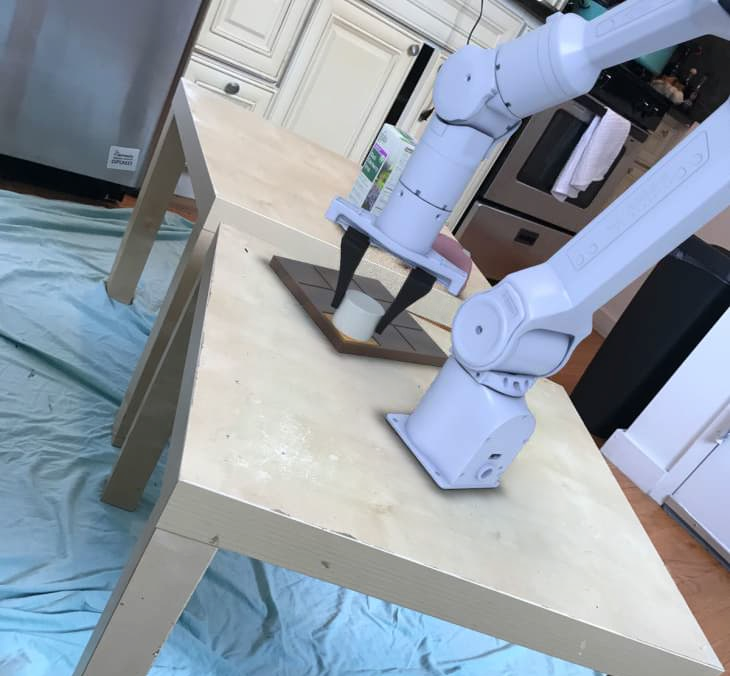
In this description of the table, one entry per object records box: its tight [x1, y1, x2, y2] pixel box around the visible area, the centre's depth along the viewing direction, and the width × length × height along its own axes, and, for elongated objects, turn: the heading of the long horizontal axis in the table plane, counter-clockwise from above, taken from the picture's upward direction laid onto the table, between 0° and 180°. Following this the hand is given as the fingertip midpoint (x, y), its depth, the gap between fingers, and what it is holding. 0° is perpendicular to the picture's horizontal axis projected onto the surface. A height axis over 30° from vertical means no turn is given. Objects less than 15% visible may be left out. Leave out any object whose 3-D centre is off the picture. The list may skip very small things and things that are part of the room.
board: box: [269, 254, 449, 368], centre depth 83 cm, size 16×16×1 cm
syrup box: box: [340, 122, 419, 248], centre depth 103 cm, size 6×6×14 cm
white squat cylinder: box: [331, 290, 385, 342], centre depth 75 cm, size 4×4×3 cm
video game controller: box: [403, 232, 473, 296], centre depth 107 cm, size 10×5×7 cm, turn 84°
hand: (357, 317), depth 75 cm, fingers closed on white squat cylinder, 4 cm apart
